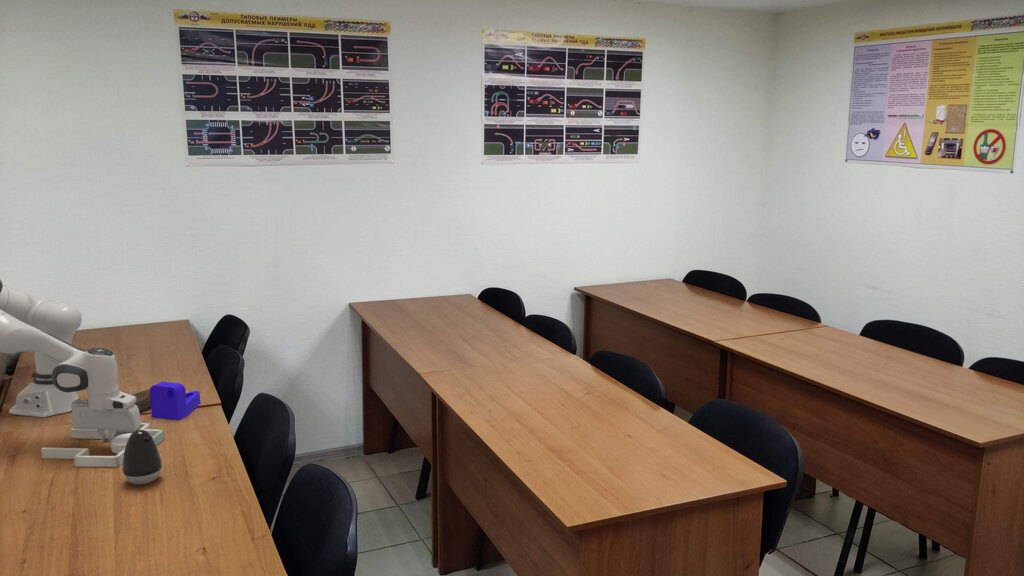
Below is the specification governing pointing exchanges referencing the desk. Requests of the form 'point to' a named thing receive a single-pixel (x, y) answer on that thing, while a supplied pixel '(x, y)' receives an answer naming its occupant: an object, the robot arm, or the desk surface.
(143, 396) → the brown hollow cylinder
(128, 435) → the coaster
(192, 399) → the bracket
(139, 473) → the dark grey egg shape
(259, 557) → the desk surface
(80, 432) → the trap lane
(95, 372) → the robot arm
